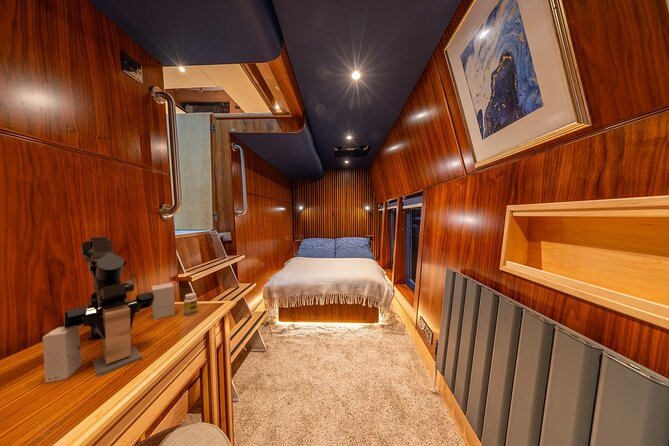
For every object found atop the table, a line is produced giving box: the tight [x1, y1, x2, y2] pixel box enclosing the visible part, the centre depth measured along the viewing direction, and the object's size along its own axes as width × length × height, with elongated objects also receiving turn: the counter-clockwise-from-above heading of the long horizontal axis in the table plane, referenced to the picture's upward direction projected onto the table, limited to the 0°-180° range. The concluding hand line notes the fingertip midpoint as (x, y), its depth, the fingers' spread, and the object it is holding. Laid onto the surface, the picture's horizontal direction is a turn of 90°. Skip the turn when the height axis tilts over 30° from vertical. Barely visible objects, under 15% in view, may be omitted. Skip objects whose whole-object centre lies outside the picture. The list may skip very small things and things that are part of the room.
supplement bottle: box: [183, 292, 198, 317], centre depth 95 cm, size 5×5×8 cm
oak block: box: [102, 304, 132, 365], centre depth 64 cm, size 5×5×14 cm
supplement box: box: [150, 282, 176, 321], centre depth 94 cm, size 7×7×13 cm
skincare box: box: [42, 325, 82, 384], centre depth 59 cm, size 6×4×12 cm
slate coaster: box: [92, 345, 143, 378], centre depth 64 cm, size 9×9×1 cm
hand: (117, 334), depth 63 cm, fingers closed on oak block, 5 cm apart
